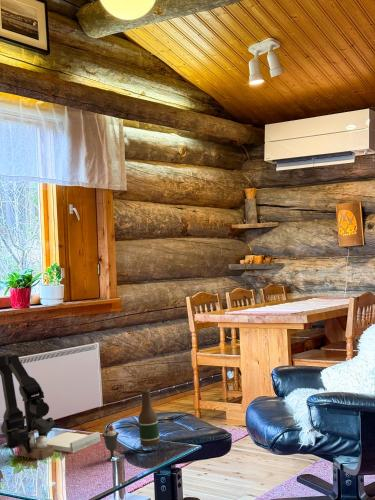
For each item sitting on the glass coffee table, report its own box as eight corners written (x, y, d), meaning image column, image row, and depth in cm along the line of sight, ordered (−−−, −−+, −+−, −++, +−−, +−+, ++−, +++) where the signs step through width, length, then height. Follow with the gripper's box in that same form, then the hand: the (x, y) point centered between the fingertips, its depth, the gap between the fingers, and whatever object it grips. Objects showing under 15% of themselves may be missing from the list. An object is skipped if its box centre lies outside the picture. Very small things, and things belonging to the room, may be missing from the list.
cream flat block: (39, 447, 303) (38, 438, 302) (67, 436, 315) (66, 427, 315) (73, 452, 291) (72, 443, 291) (100, 441, 303) (99, 432, 303)
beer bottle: (141, 446, 290) (135, 388, 289) (160, 444, 291) (154, 386, 290) (141, 452, 283) (135, 392, 282) (161, 450, 283) (155, 390, 282)
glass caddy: (19, 456, 294) (17, 437, 293) (30, 451, 299) (28, 432, 298) (42, 460, 285) (40, 440, 285) (53, 455, 290) (52, 436, 290)
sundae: (118, 462, 274) (114, 423, 273) (102, 462, 275) (98, 424, 274) (123, 456, 280) (119, 418, 280) (107, 456, 281) (103, 419, 281)
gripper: (27, 420, 279) (31, 460, 280) (62, 408, 294) (66, 445, 295) (9, 418, 286) (13, 456, 286) (44, 406, 301) (48, 442, 301)
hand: (36, 450), depth 292 cm, fingers open, 7 cm apart
